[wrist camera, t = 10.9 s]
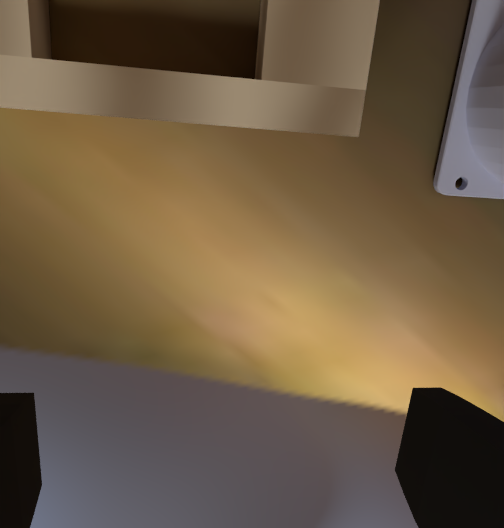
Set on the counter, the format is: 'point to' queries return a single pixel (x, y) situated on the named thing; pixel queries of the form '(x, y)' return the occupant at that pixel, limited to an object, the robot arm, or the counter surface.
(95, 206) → the counter surface
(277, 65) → the holder board
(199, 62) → the counter surface
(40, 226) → the counter surface
